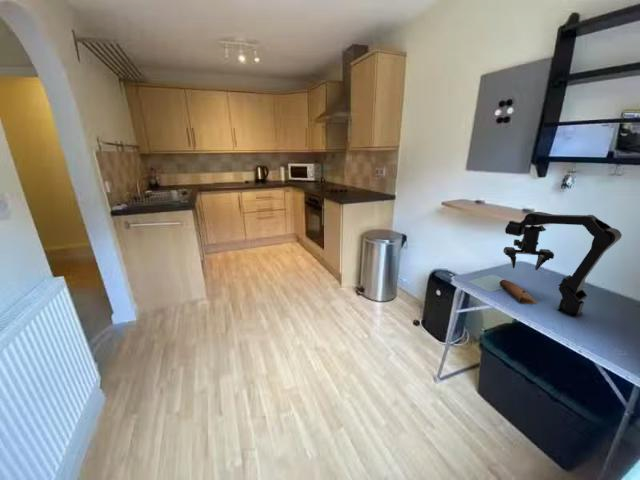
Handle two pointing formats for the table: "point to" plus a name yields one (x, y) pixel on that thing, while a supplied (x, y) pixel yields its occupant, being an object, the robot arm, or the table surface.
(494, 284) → the mat
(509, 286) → the sunglasses case
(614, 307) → the table surface
